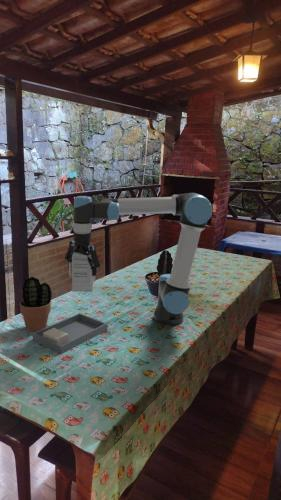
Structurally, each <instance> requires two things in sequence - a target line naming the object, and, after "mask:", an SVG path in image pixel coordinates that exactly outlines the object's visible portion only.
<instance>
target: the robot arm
mask: <svg viewBox="0 0 281 500" xmlns="http://www.w3.org/2000/svg"><path fill="white" fill-rule="evenodd" d="M149 214H150V215H151V214H152V215H155V214H172V215H173V216H180V218H179V224H180V225H181V229H180V234H179V236H178V237H179V238H178V242H177V246H176V250H175V255H174V260H173V264H172V269H171V271H170V272H171V273H165V274H161V275H159V277H158V295H157V296H158V297H157V305H156V307H155V310H154V313H153V320H155V322H157V323H158V324H159V323H160V324H161V325H169V326H170V325H171V326H174V325H178V324H181V323H183V321H184V312H185V311H186V310H187V309H188V308H189V305H190V297H189V295H190V291H191V286H192V285H191V284H190V282H189V281H190V277H191V273H192V269H193V265H194V261H195V257H196V254H197V249H198V246H199V245H198V244H199V241H200V236H201V232H202V231H204V230H206V227H207V223H208V221H209V220H210V219H211V218H212V215H213V206H212V203H211V201H210V200H209V199H208V198H207V197H205V195H202V194H200V193H196V192H189V193H188V192H187V193H180V194H173V195H171V196H163V197H162V196H161V197H160V196H159V197H158V196H157V197H155V196H154V197H128V198H127V197H125V198H122V197H121V198H109V197H104V198H103V199H101V200H100V201H93V200H92V197H91V196H88V195H87V196H86V195H78V196H75V197H74V199H73V240H70V241H69V244H68V248H67V251H66V254H65V257H64V260H66V261H67V262H68V266H67V268H68V277H72V255H73V253H74V252H78V253H82V254H84V255H87V259H88V262H89V264H90V266H91V269H90V283H94V284H95V283H96V276H97V269H99V268H101V265H100V261H99V256H98V253H97V251H96V248H97V247H96V245H94V244H93V245H91V241H92V233H91V232H92V220H105V221H107V220H108V221H117V220H119V218H120V215H124V216H125V215H149ZM87 252H88V253H87ZM88 255H91V258H92V260H91V259H90V258H89V257H88ZM93 265H94V266H93Z"/></svg>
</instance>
